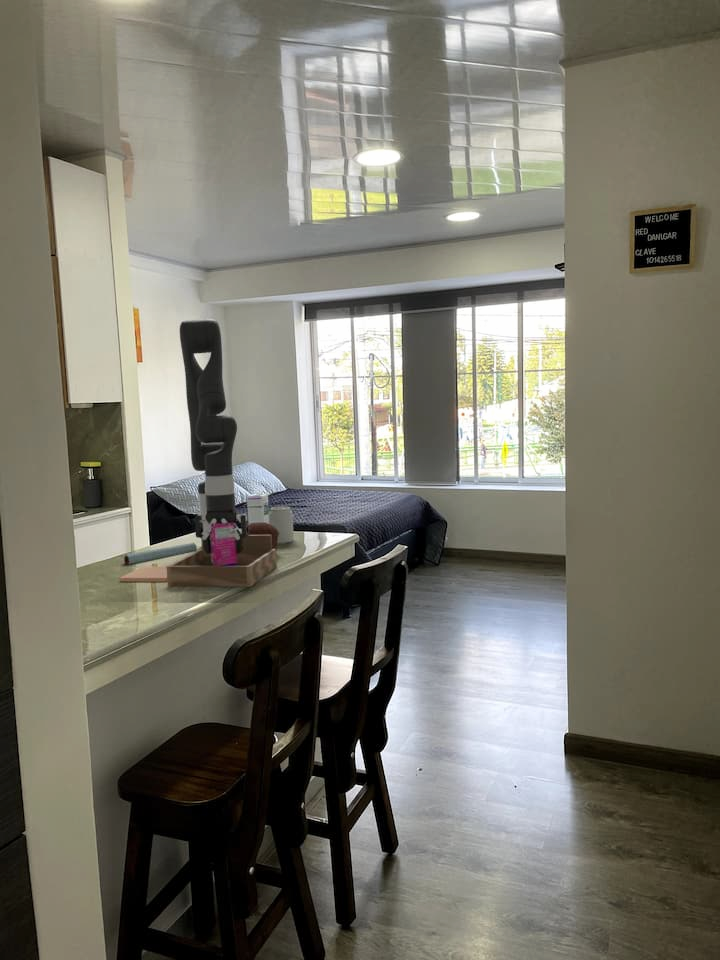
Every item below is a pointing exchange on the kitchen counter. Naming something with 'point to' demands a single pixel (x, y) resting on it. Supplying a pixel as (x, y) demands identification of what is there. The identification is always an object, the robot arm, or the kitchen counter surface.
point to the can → (282, 523)
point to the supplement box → (223, 545)
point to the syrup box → (258, 508)
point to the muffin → (265, 531)
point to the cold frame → (249, 570)
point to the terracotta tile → (146, 575)
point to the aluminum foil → (159, 553)
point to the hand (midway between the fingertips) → (223, 553)
